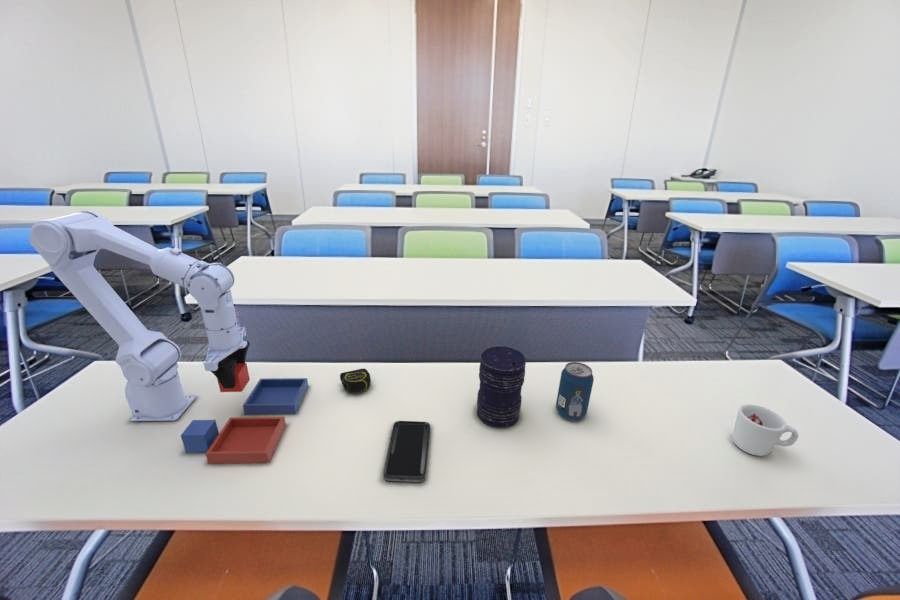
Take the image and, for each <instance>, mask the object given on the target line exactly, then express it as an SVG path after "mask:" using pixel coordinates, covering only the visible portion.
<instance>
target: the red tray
mask: <svg viewBox="0 0 900 600" xmlns="http://www.w3.org/2000/svg"><path fill="white" fill-rule="evenodd" d="M286 427H287V424H286V418H285V416H243V417H242V416H241V417H240V416H237V417H236V416H233V417H232V416H230V417H229V418H228V420H227V421H226V423H225V424H224V426H223V427H222V429H221V430H220V432H219V435H218V436H217V438H216V439H215V441H214V442H213V444H212V445H211V447H210V448H209V450H208V451H207V453H205V458H206V460H207V464H208V465H216V464H217V465H218V464H219V465H221V464H265V463H266V464H268V463H270V461H271V459H272V457H273V455H274V453H275V450H276V448H277V446H278V444H279V442H280V440H281V438H282V436H283V433H284V431H285V428H286Z"/></svg>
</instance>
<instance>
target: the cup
mask: <svg viewBox="0 0 900 600" xmlns="http://www.w3.org/2000/svg"><path fill="white" fill-rule="evenodd" d="M785 433H791V435H790V436H789V438H787V439H785V440H784V439H783V440H782V439H781V437H782V436H783V435H784V434H785ZM798 438H799V433H798V431H797V429H796V428H794V427H793V426H792V425H789V424H787V422H786V420H785V419H784V418H783V417H782V416H781V415H779V413H777V412H775V411H773V410H772V409H770V408H767V407H764V406H761V405H758V404H752V403H751V404H750V403H749V404H748V403H747V404H743V405H741V406H739V408H738V411H737V415H736V420H735V423H734V427H733V431H732V440H733V442H734V444H735V445H736V446H737V447H738V448H739V449H741V450H742V451H744V452H745V453H748V454H750V455H752V456H758V457H762V456H766V455H768V454H770V453H771V452H772V451H773V449H774V448H775V446H780V447H790V446H792V445H794V444H795V443H796V442H797V441H798Z"/></svg>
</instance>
